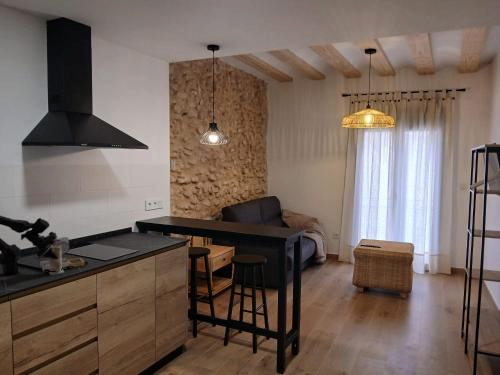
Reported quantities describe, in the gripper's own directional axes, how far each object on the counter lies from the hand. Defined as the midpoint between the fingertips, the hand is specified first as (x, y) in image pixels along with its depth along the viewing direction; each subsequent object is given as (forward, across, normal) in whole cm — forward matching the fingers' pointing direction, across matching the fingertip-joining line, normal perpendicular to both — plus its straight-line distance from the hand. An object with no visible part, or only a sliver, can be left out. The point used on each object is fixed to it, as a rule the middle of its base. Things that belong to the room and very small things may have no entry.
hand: (58, 257), depth 214 cm
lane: (+3, +10, +9) cm, 14 cm away
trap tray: (+10, +14, +1) cm, 17 cm away
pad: (+5, 0, +7) cm, 8 cm away
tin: (0, +38, +12) cm, 40 cm away
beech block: (+4, 0, +6) cm, 7 cm away
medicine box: (+1, +48, +11) cm, 49 cm away
